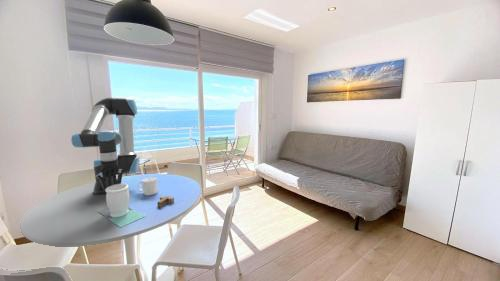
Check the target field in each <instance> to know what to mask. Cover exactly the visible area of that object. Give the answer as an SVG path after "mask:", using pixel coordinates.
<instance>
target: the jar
mask: <svg viewBox="0 0 500 281" xmlns="http://www.w3.org/2000/svg"><path fill="white" fill-rule="evenodd" d="M129 186H130V185H129V184H128V183H121V184H116V185H112V186H109V187H107V188H106V189H105V191H106V192H107V194H105V195H106V196H105V200H106V201H105V202H106V204H107V209H108V208H109V211H110V212H111V214H110V216H111V217H121V216H124V215H126V214H127V213H128V212H129V210H128V207H129V206H130V194H131V193H130V190H129ZM115 189H116V190H115ZM129 208H130V207H129Z"/></svg>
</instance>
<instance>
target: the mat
mask: <svg viewBox="0 0 500 281" xmlns="http://www.w3.org/2000/svg"><path fill="white" fill-rule="evenodd" d="M128 210H129V212H128V213H127V214H126V215H124V216H121V217H111V216H110V214H111V212H110V211H109V208H108V207H107V208H105V209H103V210H100V211H99V210H98V213H99V214H100V215H102V217H105V218H106V219H107V220H109V221H110V222H111V223H113V224H114V225H116V226H117V227H119V228H122V227H125V226H128V225H130V224H132V223H134V222H137V221H139V220H141V219H144V218H146V216H145V215H143V214H141V213H140V212H138V211H136V210H135V209H133V208H131V207H128Z"/></svg>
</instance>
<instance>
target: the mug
mask: <svg viewBox="0 0 500 281" xmlns="http://www.w3.org/2000/svg"><path fill="white" fill-rule="evenodd" d="M141 183H142V188H141ZM158 185H159V184H158V178H157V177H155V176H154V177H153V176H150V177H146V178H143V179H142V180H141V181H139V183H138V186H137V190H138V191H139V192H142V194H143V195H144V196H152V195H156V194H158V192H159V186H158Z"/></svg>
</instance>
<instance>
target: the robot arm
mask: <svg viewBox="0 0 500 281" xmlns="http://www.w3.org/2000/svg"><path fill="white" fill-rule="evenodd" d="M111 115H115V117H116V118H117V119H118V132H117V131H114V130H101V128H102V126H103V124H104V122H105V120H106V119H107V117H109V116H111ZM136 115H138V108H137V105H136V101H135V99H133V98H130V97H107V98H106V97H105V98H103V99H101V100H99V101H97V102H96V103H95V104H94V105H93V106H92V108H91V114H90V115H89V117H88V118H87V119H88V120H87V121H86V123H85V125H84V126H83V128H82V130H81V132H80V133H74V134H73V135H72V136H71V138H70V139H71V144H72V146H73V147H74V148H95V147H98V152H99V158H96V159H95V160H93V171H94V176H95V177H94V178H95V182H94V187H93V193H94V194H95V195H106V194H107V192H106V191H105V189H106V188H107V187H109V186H112V185H116V184H122V179H123V175H128V174H129V175H131V174H135V173H137V172H138V171H139V168H140V162H141V161H140V156H137V153H136V152H135V144H134V143H135V142H134V123H133V120H134V118H136ZM118 145H119V153H118V151H117V146H118ZM115 190H116V189H115Z"/></svg>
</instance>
